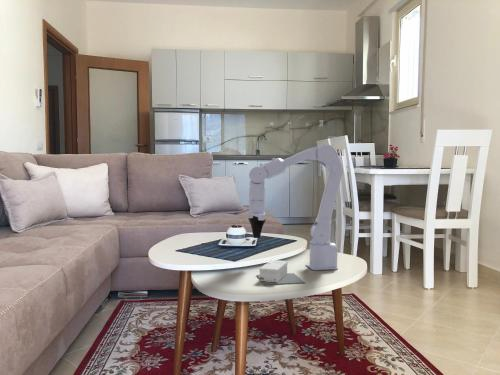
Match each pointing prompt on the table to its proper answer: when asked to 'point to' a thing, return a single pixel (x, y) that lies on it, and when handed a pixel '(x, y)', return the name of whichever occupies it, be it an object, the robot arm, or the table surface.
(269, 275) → the skincare box
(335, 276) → the table surface
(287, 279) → the mat
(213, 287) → the table surface
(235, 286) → the table surface
